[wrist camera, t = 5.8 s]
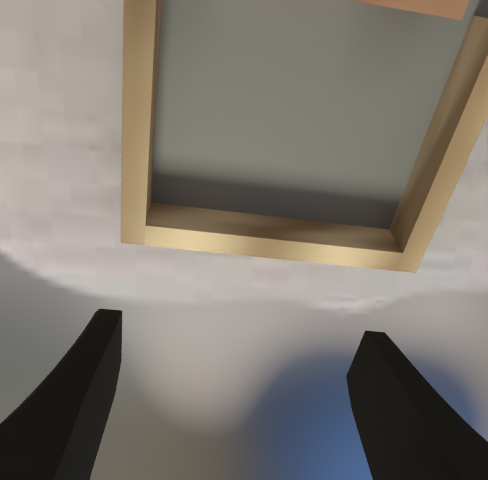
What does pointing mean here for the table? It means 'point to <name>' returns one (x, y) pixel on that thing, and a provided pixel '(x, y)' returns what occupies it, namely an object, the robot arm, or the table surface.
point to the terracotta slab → (426, 6)
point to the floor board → (297, 105)
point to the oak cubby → (287, 229)
